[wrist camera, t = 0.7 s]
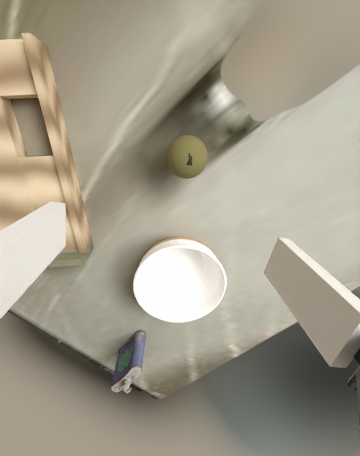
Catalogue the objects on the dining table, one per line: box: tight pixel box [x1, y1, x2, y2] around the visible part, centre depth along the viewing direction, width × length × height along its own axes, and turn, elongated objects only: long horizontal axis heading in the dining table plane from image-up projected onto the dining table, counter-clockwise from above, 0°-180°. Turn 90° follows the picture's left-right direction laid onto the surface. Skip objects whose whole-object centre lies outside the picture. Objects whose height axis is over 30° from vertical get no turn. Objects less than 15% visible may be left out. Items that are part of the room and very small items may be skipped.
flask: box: [111, 330, 146, 393], centre depth 47 cm, size 9×3×11 cm, turn 139°
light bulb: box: [166, 135, 208, 178], centre depth 31 cm, size 6×6×10 cm
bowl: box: [133, 237, 226, 322], centre depth 41 cm, size 16×16×8 cm
